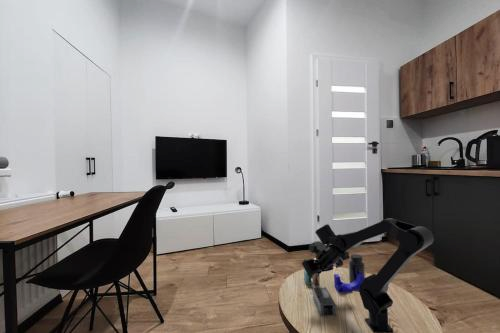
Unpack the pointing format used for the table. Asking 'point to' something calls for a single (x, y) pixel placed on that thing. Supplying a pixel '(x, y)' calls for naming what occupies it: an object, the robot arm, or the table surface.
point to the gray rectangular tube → (324, 302)
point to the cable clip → (347, 287)
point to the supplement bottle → (356, 267)
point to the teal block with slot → (307, 278)
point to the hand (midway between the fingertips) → (313, 272)
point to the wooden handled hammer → (315, 279)
